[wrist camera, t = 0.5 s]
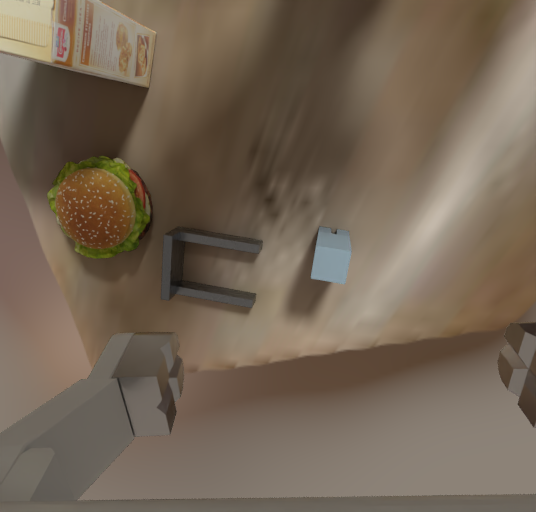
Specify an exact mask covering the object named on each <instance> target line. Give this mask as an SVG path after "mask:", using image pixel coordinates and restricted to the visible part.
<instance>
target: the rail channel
mask: <svg viewBox="0 0 536 512" xmlns="http://www.w3.org/2000/svg"><path fill="white" fill-rule="evenodd" d="M185 241H187V242H193V243H199V244H204V245H210V246H216V247H222V248H228V249H234V250H240V251H246V252H252V253H258V254H259V252H260V251H261V249H262V243H263V241H262V240H256V239H250V238H244V237H238V236H232V235H226V234H220V233H214V232H207V231H201V230H195V229H189V228H183V227H176V228H175V229H173V230H171V231H169V232H168V233H166V234H164V241H163V263H162V286H161V299H163V300H168V301H169V300H170V299H171V298H172V297H173V296H174V295H175V294H179V295H184V296H190V297H195V298H201V299H206V300H211V301H217V302H222V303H228V304H233V305H239V306H244V307H249V308H252V307H253V305H254V303H255V299H256V294H255V293H250V292H244V291H239V290H233V289H227V288H222V287H216V286H211V285H205V284H200V283H194V282H189V281H183V280H182V279H183V263H184V247H185Z"/></svg>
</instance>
